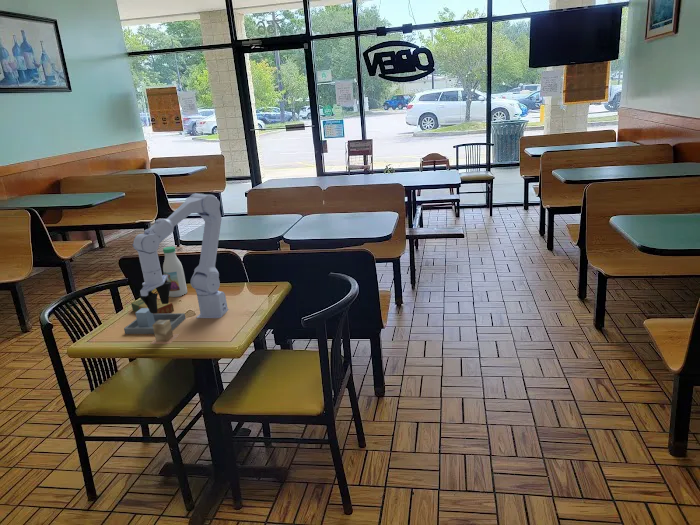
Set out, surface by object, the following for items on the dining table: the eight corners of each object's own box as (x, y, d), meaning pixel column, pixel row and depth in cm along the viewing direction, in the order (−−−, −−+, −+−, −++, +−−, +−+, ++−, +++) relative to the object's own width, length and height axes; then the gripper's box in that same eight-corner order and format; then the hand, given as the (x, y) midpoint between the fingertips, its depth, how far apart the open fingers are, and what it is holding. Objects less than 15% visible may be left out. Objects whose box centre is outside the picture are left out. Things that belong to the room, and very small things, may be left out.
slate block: (155, 323, 186) (151, 308, 184) (149, 328, 182) (145, 312, 180) (144, 323, 186) (141, 308, 185) (138, 328, 183) (135, 312, 181)
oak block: (173, 336, 174) (169, 319, 172) (167, 341, 170) (163, 324, 168) (162, 336, 175) (158, 319, 173) (156, 341, 171) (152, 324, 169)
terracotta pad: (180, 335, 175) (180, 334, 175) (170, 345, 169) (169, 343, 169) (161, 335, 177) (161, 334, 176) (150, 345, 170) (150, 343, 170)
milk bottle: (179, 289, 220) (171, 244, 214) (191, 292, 215) (182, 246, 209) (164, 295, 214) (154, 249, 208) (175, 298, 209) (166, 251, 203)
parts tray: (185, 319, 188) (184, 313, 187) (169, 335, 176) (167, 328, 176) (144, 319, 191) (143, 313, 190) (125, 335, 179) (123, 328, 179)
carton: (155, 321, 190) (152, 310, 189) (132, 312, 200) (130, 302, 199) (175, 312, 196) (172, 302, 195) (151, 304, 206) (149, 294, 205)
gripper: (151, 263, 177) (159, 299, 181) (128, 277, 164) (137, 317, 168) (170, 262, 176) (178, 299, 180) (148, 277, 162) (157, 317, 167)
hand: (159, 308), depth 174 cm, fingers open, 7 cm apart
